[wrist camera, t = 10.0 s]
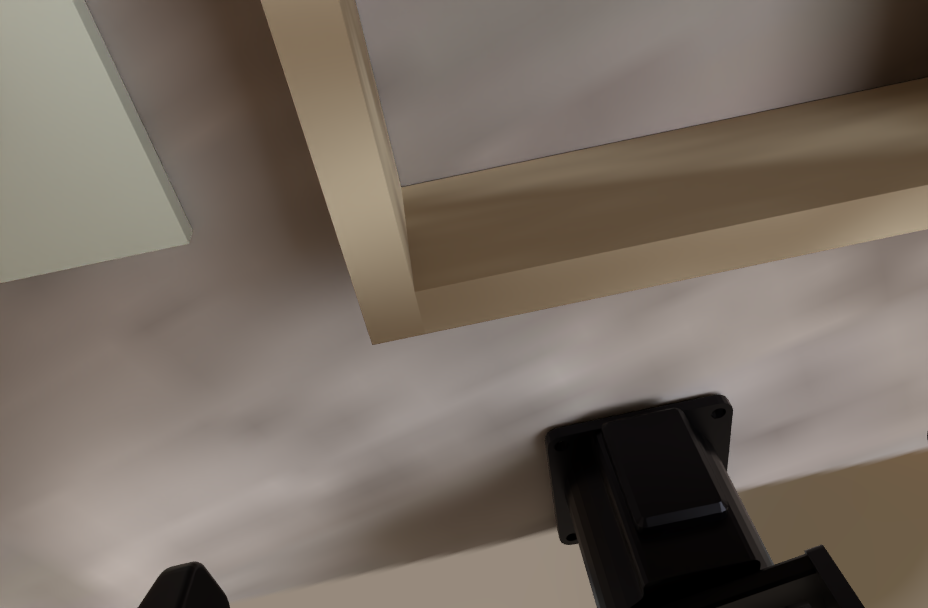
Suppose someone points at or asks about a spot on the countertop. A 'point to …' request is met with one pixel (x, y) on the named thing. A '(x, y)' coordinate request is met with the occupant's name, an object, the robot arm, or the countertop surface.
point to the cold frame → (589, 193)
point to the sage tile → (73, 149)
